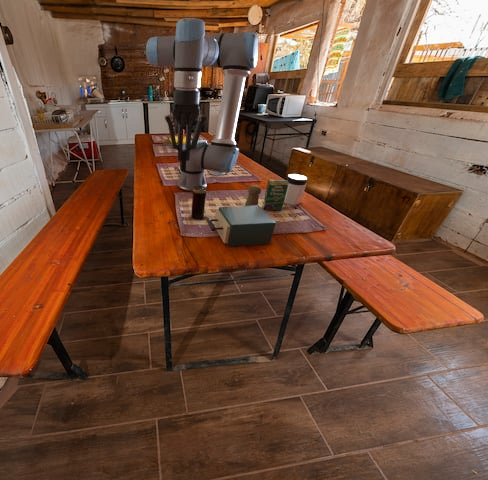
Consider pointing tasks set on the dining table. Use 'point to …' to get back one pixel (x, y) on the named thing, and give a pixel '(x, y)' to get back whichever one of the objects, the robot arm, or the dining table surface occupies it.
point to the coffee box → (275, 194)
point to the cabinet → (248, 225)
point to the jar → (295, 189)
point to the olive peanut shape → (253, 195)
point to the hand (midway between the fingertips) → (182, 170)
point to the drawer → (220, 226)
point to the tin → (198, 202)
